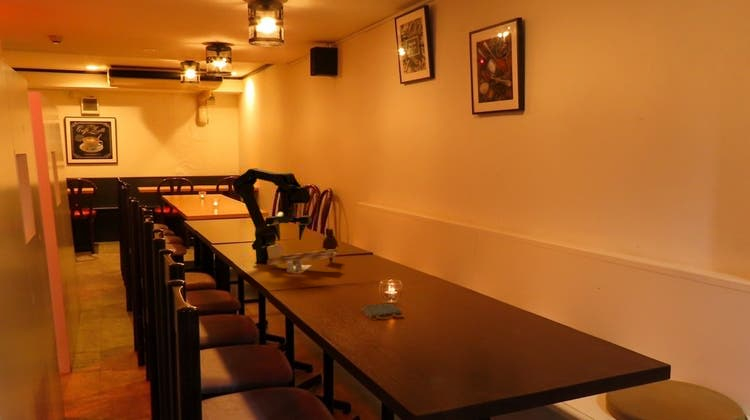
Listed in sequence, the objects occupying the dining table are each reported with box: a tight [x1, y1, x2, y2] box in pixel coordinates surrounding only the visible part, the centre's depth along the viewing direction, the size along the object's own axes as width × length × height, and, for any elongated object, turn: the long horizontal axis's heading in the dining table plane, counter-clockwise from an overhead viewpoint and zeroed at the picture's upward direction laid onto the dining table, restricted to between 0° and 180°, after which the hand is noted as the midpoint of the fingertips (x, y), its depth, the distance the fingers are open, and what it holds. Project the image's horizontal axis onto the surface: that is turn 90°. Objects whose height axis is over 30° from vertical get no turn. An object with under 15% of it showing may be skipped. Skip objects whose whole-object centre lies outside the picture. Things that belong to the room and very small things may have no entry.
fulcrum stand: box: [286, 261, 313, 275], centre depth 241 cm, size 10×16×5 cm, turn 170°
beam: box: [266, 248, 339, 266], centre depth 240 cm, size 28×8×2 cm, turn 80°
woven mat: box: [361, 302, 405, 321], centre depth 176 cm, size 10×11×2 cm
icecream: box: [321, 227, 339, 263], centre depth 256 cm, size 7×7×15 cm
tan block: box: [267, 243, 285, 260], centre depth 242 cm, size 5×5×6 cm
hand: (289, 240), depth 246 cm, fingers open, 9 cm apart
